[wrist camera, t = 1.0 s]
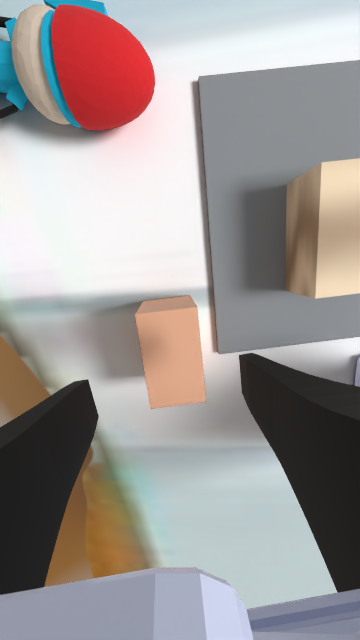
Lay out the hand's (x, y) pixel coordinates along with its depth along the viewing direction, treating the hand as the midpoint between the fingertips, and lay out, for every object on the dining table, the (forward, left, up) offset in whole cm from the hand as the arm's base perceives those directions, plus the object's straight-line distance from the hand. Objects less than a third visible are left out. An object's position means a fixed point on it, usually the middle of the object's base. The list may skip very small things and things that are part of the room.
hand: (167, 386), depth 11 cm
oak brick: (+6, -13, -9) cm, 17 cm away
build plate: (+7, -12, -9) cm, 17 cm away
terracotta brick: (-1, 0, -10) cm, 10 cm away
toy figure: (+17, +6, -10) cm, 21 cm away
